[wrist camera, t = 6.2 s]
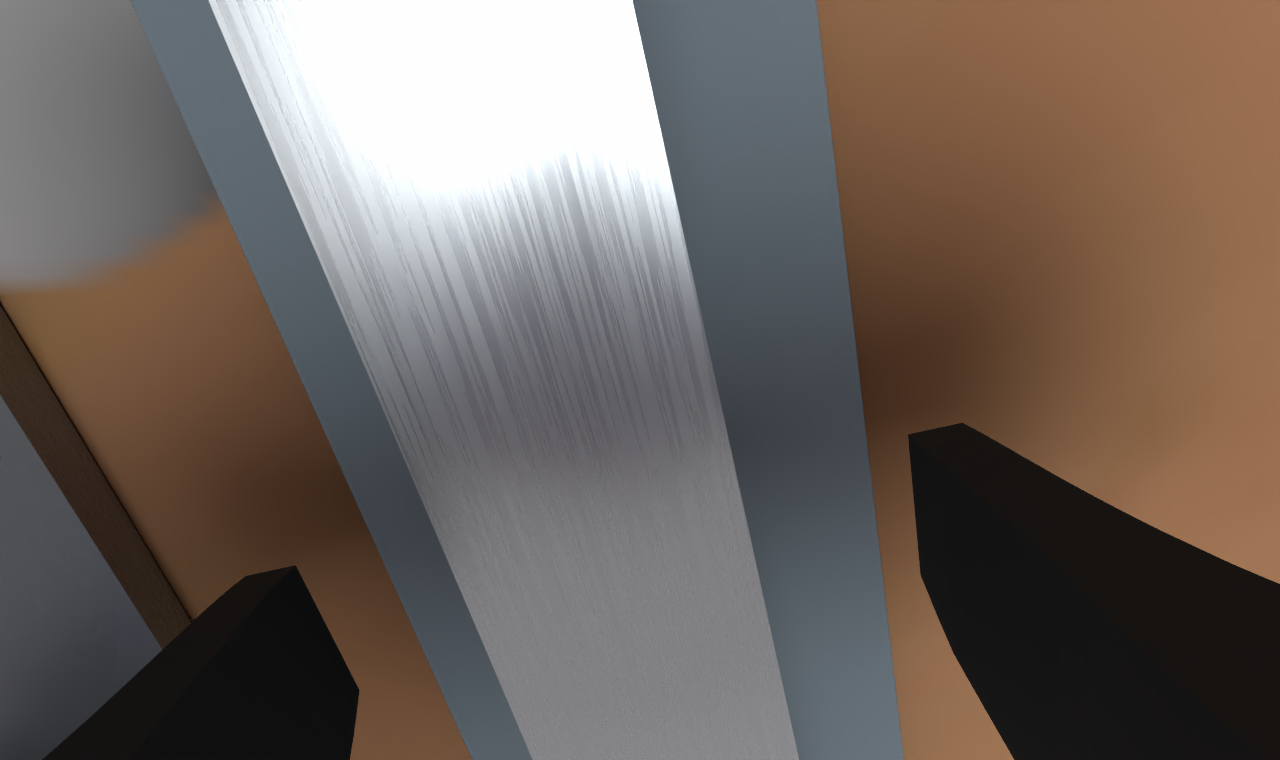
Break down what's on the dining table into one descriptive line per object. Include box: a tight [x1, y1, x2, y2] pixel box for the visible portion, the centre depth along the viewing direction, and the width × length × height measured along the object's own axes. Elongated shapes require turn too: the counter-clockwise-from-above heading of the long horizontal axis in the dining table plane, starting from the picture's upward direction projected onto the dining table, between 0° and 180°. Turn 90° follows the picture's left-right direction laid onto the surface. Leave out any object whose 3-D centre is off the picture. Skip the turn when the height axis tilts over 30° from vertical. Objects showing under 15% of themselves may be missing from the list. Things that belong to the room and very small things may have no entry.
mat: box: [130, 0, 904, 760], centre depth 12 cm, size 18×7×1 cm, turn 12°
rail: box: [208, 0, 799, 760], centre depth 10 cm, size 16×3×3 cm
